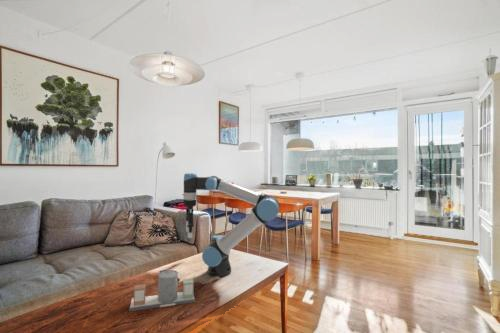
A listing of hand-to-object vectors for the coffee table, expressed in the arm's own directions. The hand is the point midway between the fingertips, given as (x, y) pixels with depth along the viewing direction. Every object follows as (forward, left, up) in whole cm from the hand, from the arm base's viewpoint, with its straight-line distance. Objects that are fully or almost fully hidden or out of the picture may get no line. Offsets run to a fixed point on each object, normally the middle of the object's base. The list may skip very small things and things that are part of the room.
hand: (189, 234), depth 156 cm
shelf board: (+14, +23, -27) cm, 38 cm away
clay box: (+25, +23, -26) cm, 42 cm away
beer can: (+12, +22, -26) cm, 36 cm away
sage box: (+2, +23, -26) cm, 34 cm away
